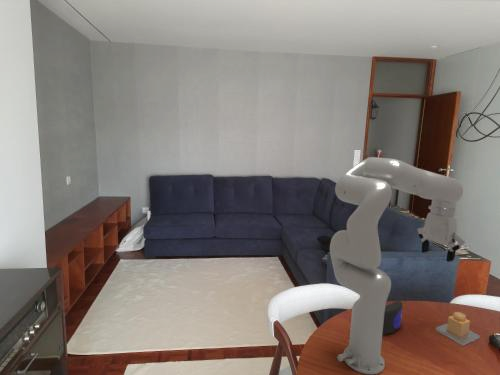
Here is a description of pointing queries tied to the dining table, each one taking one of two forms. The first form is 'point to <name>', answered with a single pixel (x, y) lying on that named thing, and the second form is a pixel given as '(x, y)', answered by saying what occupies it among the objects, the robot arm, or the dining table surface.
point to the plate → (461, 340)
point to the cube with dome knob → (458, 324)
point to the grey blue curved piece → (392, 317)
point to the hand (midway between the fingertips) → (437, 256)
